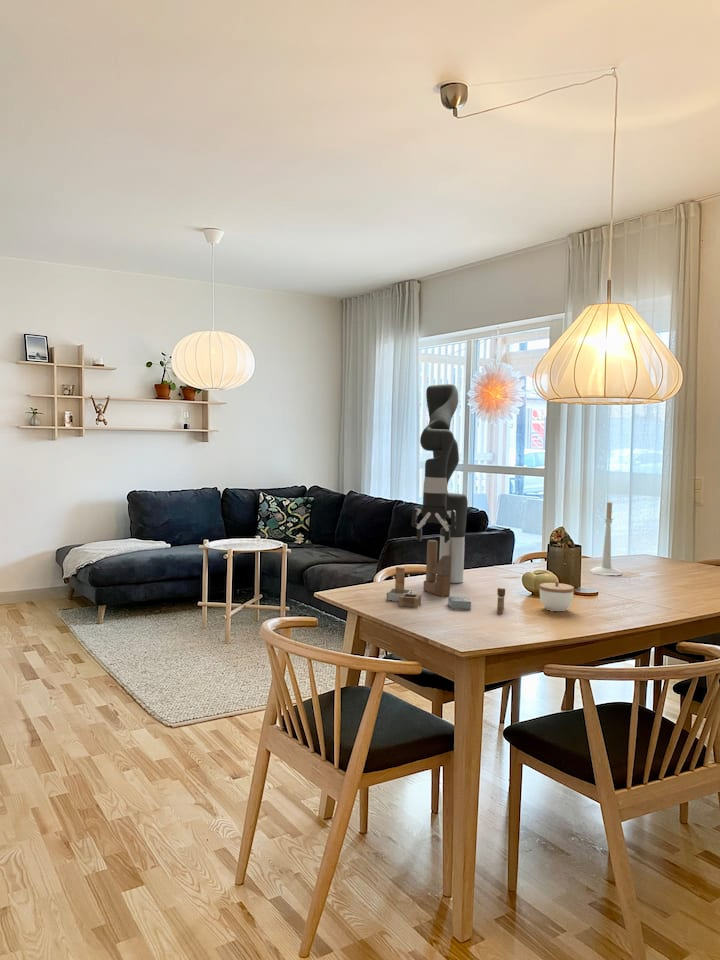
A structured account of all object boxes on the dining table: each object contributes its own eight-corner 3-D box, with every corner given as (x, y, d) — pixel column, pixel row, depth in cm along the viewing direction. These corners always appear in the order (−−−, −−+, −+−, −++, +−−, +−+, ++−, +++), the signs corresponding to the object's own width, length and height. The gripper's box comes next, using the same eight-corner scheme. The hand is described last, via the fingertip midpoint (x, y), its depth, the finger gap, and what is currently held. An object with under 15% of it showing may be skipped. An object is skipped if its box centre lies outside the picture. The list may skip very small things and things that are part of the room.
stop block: (497, 607, 241) (498, 585, 240) (505, 607, 240) (506, 586, 240) (495, 613, 232) (496, 591, 232) (503, 614, 232) (504, 591, 231)
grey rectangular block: (448, 605, 243) (448, 596, 243) (466, 605, 243) (466, 596, 243) (452, 610, 236) (452, 601, 236) (470, 610, 236) (471, 601, 236)
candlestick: (626, 576, 303) (630, 503, 301) (594, 575, 303) (598, 502, 302) (616, 571, 316) (620, 500, 314) (586, 569, 316) (589, 499, 314)
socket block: (402, 602, 244) (402, 593, 244) (420, 603, 242) (421, 594, 242) (399, 606, 238) (399, 596, 238) (417, 607, 237) (418, 598, 236)
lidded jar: (568, 606, 245) (569, 578, 245) (576, 614, 234) (578, 584, 234) (535, 605, 245) (536, 577, 245) (542, 613, 235) (543, 583, 234)
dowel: (395, 596, 251) (396, 566, 250) (404, 596, 250) (405, 567, 249) (394, 597, 248) (395, 567, 247) (402, 598, 247) (403, 568, 246)
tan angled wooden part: (441, 597, 254) (443, 544, 253) (422, 590, 263) (424, 540, 262) (450, 596, 256) (452, 543, 254) (431, 590, 265) (433, 539, 264)
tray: (391, 595, 253) (391, 588, 253) (411, 597, 252) (411, 589, 252) (386, 600, 246) (386, 592, 245) (407, 602, 244) (407, 594, 244)
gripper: (410, 490, 238) (408, 541, 239) (454, 493, 234) (452, 544, 235) (416, 489, 245) (414, 538, 246) (459, 491, 241) (457, 541, 242)
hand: (433, 541), depth 241 cm, fingers open, 8 cm apart
